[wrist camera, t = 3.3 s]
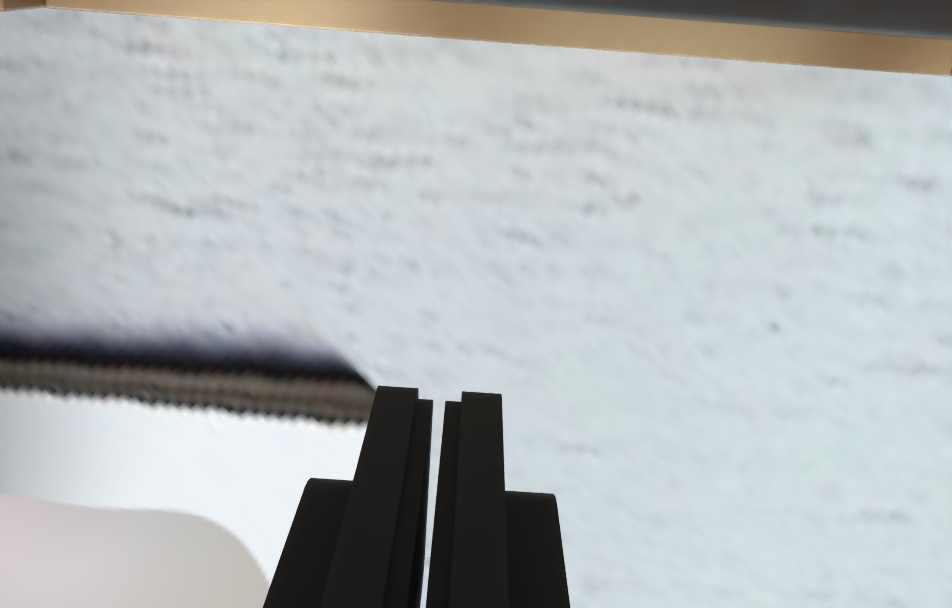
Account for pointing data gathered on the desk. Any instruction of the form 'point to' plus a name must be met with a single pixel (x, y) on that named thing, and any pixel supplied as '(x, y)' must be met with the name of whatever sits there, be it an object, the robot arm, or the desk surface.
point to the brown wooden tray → (614, 25)
